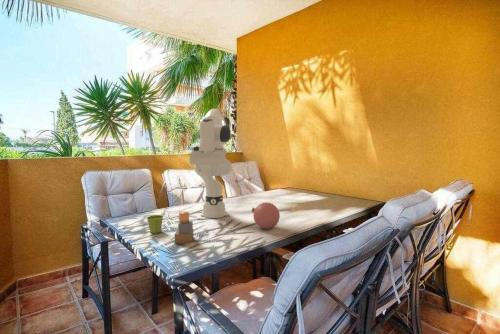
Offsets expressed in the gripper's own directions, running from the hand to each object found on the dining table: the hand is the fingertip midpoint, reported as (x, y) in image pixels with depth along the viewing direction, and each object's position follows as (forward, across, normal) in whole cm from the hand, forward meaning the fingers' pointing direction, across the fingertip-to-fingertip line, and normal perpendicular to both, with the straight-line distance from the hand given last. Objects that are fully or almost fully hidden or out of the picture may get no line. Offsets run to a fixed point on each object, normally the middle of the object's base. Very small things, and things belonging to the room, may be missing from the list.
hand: (208, 172), depth 164 cm
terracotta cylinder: (+24, +11, +15) cm, 31 cm away
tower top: (+29, +11, +15) cm, 35 cm away
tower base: (+34, +12, +15) cm, 39 cm away
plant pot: (+34, +31, -1) cm, 46 cm away
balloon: (+34, -32, -5) cm, 47 cm away
